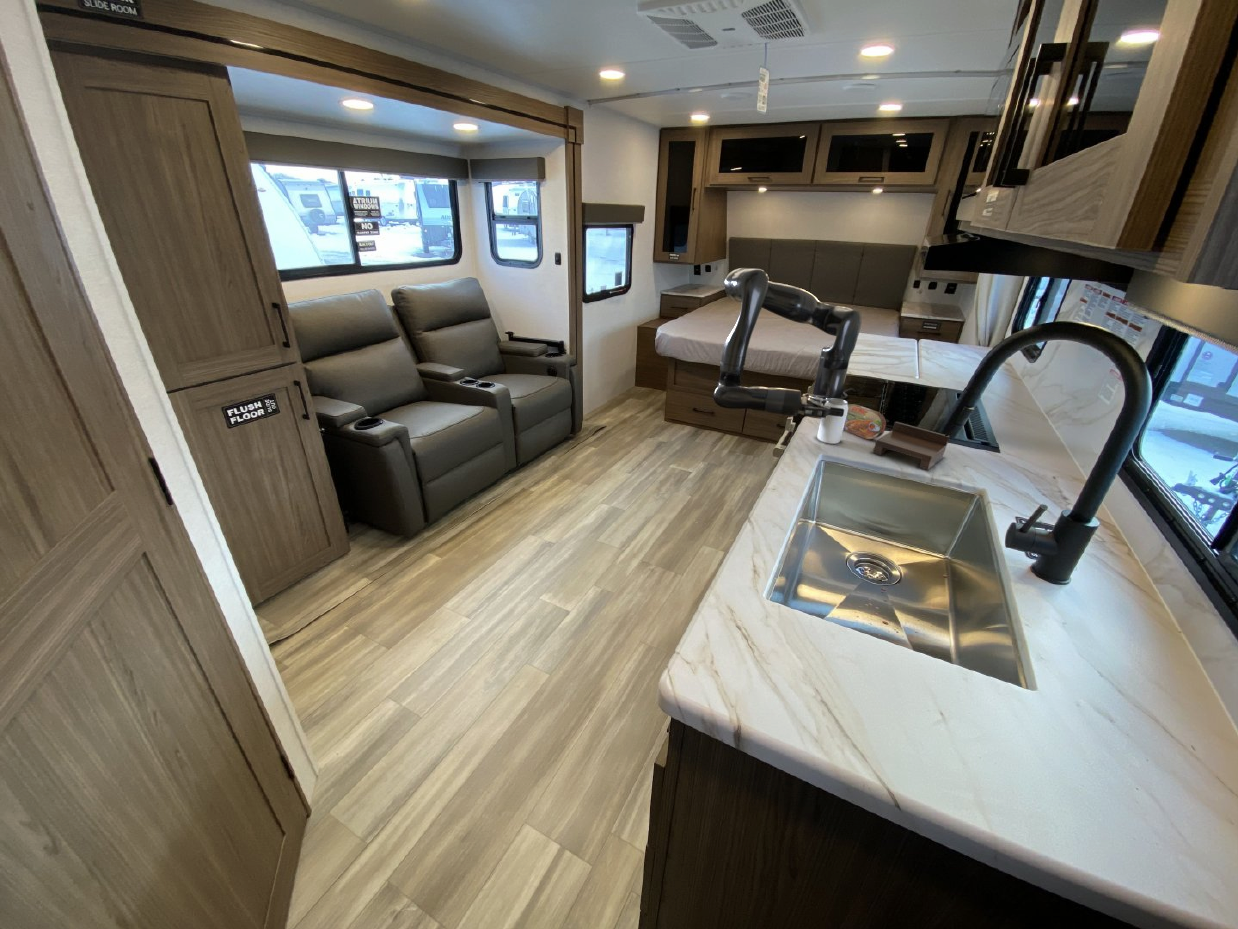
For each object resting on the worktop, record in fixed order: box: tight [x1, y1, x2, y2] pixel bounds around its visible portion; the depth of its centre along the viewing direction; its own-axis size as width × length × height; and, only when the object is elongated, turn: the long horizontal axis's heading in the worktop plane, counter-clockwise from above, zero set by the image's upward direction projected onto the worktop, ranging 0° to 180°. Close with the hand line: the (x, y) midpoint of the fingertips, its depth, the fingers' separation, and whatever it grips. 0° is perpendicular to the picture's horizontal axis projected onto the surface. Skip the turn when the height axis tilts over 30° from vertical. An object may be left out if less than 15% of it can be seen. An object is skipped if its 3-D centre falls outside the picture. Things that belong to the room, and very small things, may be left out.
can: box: [816, 398, 849, 445], centre depth 143 cm, size 6×6×12 cm
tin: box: [843, 403, 887, 440], centre depth 148 cm, size 15×3×8 cm, turn 27°
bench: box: [872, 421, 951, 471], centre depth 135 cm, size 12×14×6 cm
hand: (842, 408), depth 140 cm, fingers closed on can, 6 cm apart
